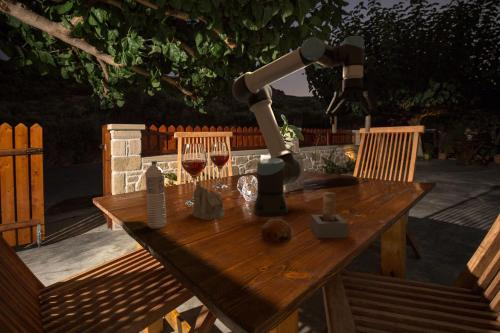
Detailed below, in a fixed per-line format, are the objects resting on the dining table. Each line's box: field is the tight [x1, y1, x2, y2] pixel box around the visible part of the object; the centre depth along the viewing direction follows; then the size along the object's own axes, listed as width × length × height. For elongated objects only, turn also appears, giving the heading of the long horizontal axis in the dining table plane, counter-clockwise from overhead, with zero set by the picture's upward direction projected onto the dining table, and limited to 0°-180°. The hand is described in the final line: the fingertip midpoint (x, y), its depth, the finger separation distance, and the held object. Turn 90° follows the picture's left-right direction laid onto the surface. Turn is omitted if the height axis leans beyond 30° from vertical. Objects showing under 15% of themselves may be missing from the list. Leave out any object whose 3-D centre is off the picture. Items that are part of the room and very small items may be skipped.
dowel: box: [322, 191, 336, 222], centre depth 98 cm, size 4×4×14 cm
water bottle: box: [144, 160, 167, 230], centre depth 107 cm, size 7×7×25 cm
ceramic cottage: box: [192, 181, 226, 221], centre depth 123 cm, size 16×16×15 cm
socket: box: [310, 213, 349, 239], centre depth 99 cm, size 10×10×5 cm
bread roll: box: [261, 218, 292, 243], centre depth 96 cm, size 10×10×8 cm
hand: (350, 132), depth 114 cm, fingers open, 13 cm apart
